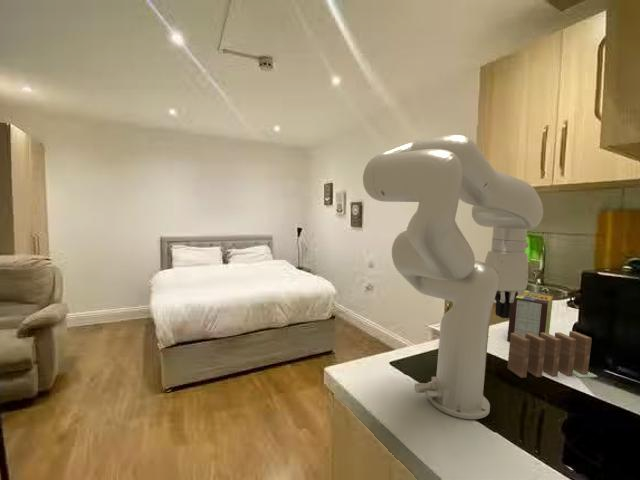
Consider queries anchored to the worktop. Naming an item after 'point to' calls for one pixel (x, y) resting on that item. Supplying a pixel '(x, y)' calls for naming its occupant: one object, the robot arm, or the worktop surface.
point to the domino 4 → (566, 354)
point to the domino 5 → (581, 352)
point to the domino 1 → (518, 355)
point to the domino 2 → (536, 354)
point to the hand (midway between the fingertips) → (502, 316)
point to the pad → (583, 375)
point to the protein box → (530, 314)
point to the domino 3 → (551, 354)
